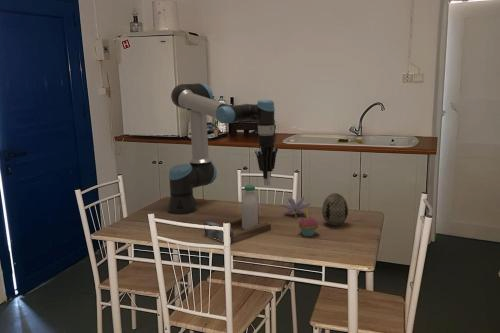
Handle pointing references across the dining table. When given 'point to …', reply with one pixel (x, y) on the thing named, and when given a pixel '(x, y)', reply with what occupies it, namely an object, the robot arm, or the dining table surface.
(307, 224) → the cupcake
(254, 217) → the milk bottle
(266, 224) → the guide channel
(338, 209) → the decorative egg
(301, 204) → the water lily
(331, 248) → the dining table surface
